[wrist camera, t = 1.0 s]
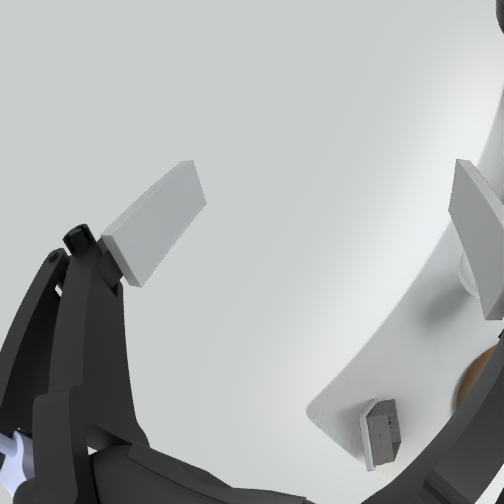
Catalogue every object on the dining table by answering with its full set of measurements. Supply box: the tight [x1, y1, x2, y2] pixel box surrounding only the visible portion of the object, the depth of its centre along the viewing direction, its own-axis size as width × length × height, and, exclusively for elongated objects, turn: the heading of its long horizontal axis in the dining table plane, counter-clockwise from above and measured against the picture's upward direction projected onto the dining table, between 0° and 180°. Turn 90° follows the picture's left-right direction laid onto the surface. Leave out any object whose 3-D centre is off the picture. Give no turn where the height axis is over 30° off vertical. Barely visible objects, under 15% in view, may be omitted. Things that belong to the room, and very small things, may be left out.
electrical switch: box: [359, 398, 401, 471], centre depth 29 cm, size 9×5×9 cm, turn 15°
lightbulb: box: [458, 249, 480, 298], centre depth 22 cm, size 6×6×11 cm
